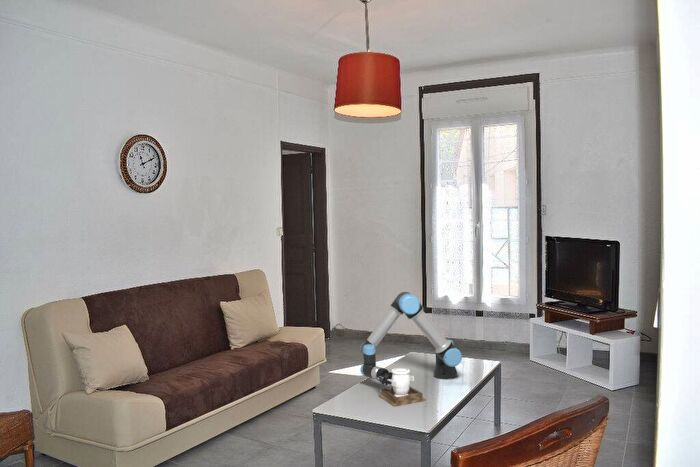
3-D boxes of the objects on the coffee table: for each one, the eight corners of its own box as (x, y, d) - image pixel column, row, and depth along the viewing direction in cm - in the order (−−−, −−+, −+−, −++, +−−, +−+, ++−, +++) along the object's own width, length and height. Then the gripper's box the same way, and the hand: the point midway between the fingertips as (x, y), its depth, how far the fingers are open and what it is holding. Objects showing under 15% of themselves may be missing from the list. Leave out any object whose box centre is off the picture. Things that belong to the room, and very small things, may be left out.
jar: (407, 400, 305) (407, 373, 304) (389, 398, 309) (389, 372, 308) (412, 394, 315) (411, 368, 314) (395, 392, 318) (394, 366, 318)
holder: (408, 390, 324) (408, 383, 324) (426, 400, 306) (425, 393, 306) (378, 396, 317) (378, 389, 317) (394, 406, 298) (393, 399, 298)
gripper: (396, 375, 333) (421, 383, 316) (364, 384, 318) (388, 393, 301) (395, 363, 333) (420, 370, 316) (363, 372, 318) (388, 379, 301)
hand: (405, 381), depth 309 cm, fingers open, 13 cm apart
